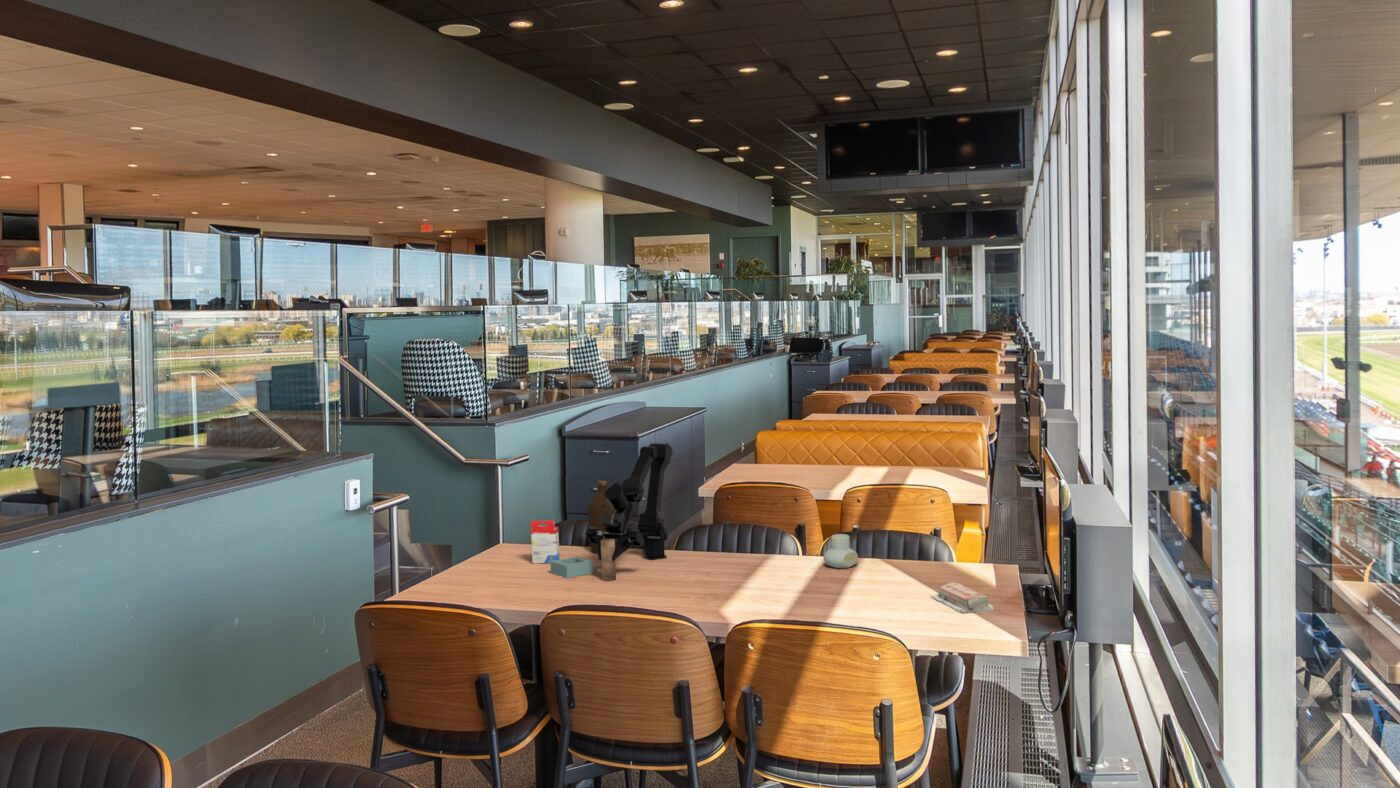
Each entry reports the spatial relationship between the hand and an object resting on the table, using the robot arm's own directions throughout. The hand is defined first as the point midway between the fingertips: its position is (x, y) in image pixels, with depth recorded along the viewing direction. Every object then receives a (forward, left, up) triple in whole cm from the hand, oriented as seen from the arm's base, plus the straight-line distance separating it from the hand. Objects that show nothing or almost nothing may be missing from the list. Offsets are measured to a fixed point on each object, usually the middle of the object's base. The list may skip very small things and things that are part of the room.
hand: (606, 559), depth 331 cm
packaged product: (-73, +80, -7) cm, 109 cm away
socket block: (+6, -15, -7) cm, 18 cm away
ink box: (+8, -36, -7) cm, 37 cm away
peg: (-1, -1, -7) cm, 7 cm away
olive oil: (-15, -41, -7) cm, 44 cm away
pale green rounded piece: (-71, +24, -7) cm, 75 cm away
